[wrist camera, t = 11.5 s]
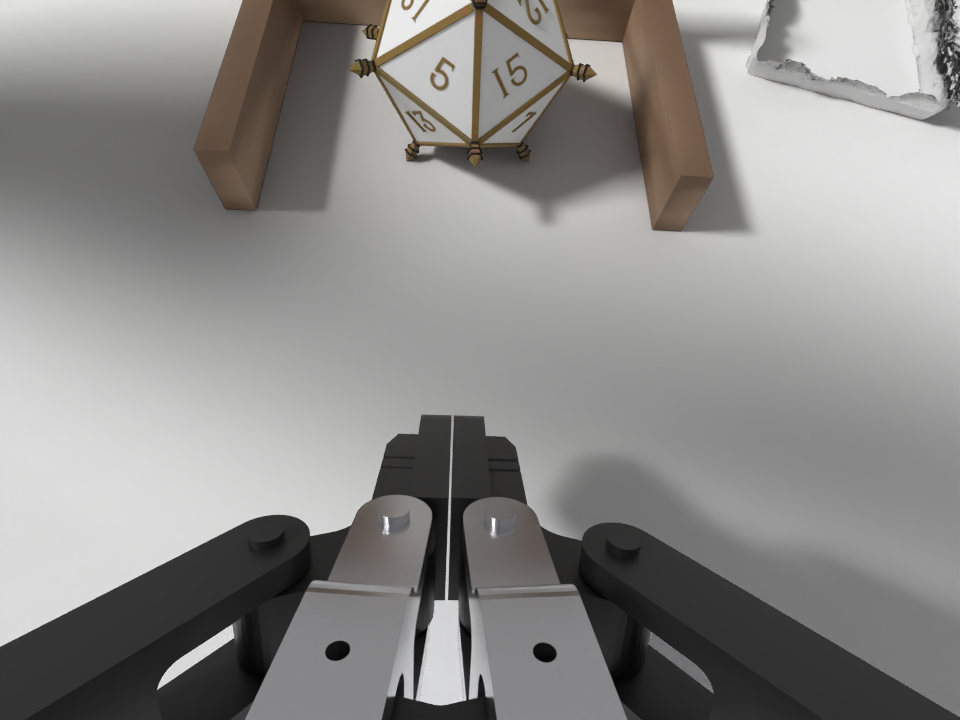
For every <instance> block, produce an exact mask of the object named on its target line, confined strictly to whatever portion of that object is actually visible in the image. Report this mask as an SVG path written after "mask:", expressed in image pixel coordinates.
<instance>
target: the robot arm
mask: <svg viewBox="0 0 960 720" xmlns="http://www.w3.org/2000/svg"><path fill="white" fill-rule="evenodd" d="M450 442H451V415H421V421H420V428H419V434H398V435H397V436H396V437H395V438H393V439H392V440H391V441H390V442H389V443H388V444H387V446H386V449H385V453H384V459H383V460H382V464H381V469H380V471H379V475H378V479H377V483H376V486H375V490H374V494H373V497H372V500H371V501H369V502H367V503H366V504H364V505H363V506H362V507H361V508H360V509H359V510H358V512H357V514H356V516H355V518H354V520H353V523H352V525H351V526H349V527H347V528H345V529H342V530H339V531H335V532H331V533H326V534H320V535H315V536H310V531H309V528H308V526H307V525H306V524H305V523H304V522H303V521H302V520H300V519H298V518H295V517H292V516H287V515H269V516H263V517H259V518H255V519H252V520H250V521H247V522H245V523H243V524H241V525H239V526H237V527H235V528H233V529H231V530H229V531H227V532H225V533H223V534H221V535H219V536H217V537H215V538H213V539H211V540H210V541H208V542H206V543H204V544H202V545H200V546H198V547H196V548H194V549H192V550H190V551H188V552H186V553H184V554H182V555H180V556H178V557H176V558H174V559H172V560H170V561H168V562H166V563H164V564H162V565H160V566H158V567H156V568H154V569H153V570H151V571H149V572H147V573H145V574H143V575H141V576H139V577H137V578H135V579H133V580H131V581H129V582H127V583H125V584H123V585H121V586H119V587H117V588H115V589H113V590H111V591H109V592H107V593H105V594H103V595H101V596H99V597H97V598H96V599H94V600H92V601H90V602H88V603H86V604H84V605H82V606H80V607H78V608H76V609H74V610H72V611H70V612H68V613H66V614H64V615H62V616H60V617H58V618H56V619H54V620H52V621H50V622H48V623H46V624H44V625H42V626H40V627H39V628H37V629H35V630H33V631H31V632H29V633H27V634H25V635H23V636H21V637H19V638H17V639H15V640H13V641H11V642H9V643H7V644H5V645H3V646H1V647H0V720H960V717H958V716H956V715H955V714H953V713H951V712H950V711H948V710H946V709H944V708H943V707H941V706H939V705H938V704H936V703H934V702H933V701H931V700H929V699H927V698H926V697H924V696H922V695H921V694H919V693H917V692H916V691H914V690H912V689H911V688H909V687H907V686H905V685H904V684H902V683H900V682H899V681H897V680H895V679H894V678H892V677H890V676H889V675H887V674H885V673H883V672H882V671H880V670H878V669H877V668H875V667H873V666H872V665H870V664H868V663H866V662H865V661H863V660H861V659H860V658H858V657H856V656H855V655H853V654H851V653H850V652H848V651H846V650H844V649H843V648H841V647H839V646H838V645H836V644H834V643H833V642H831V641H829V640H828V639H826V638H824V637H822V636H821V635H819V634H817V633H816V632H814V631H812V630H811V629H809V628H807V627H805V626H804V625H802V624H800V623H799V622H797V621H795V620H794V619H792V618H790V617H789V616H787V615H785V614H783V613H782V612H780V611H778V610H777V609H775V608H773V607H772V606H770V605H768V604H767V603H765V602H763V601H761V600H760V599H758V598H756V597H755V596H753V595H751V594H750V593H748V592H746V591H744V590H743V589H741V588H739V587H738V586H736V585H734V584H733V583H731V582H729V581H728V580H726V579H724V578H722V577H721V576H719V575H717V574H716V573H714V572H712V571H711V570H709V569H707V568H706V567H704V566H702V565H700V564H699V563H697V562H695V561H694V560H692V559H690V558H689V557H687V556H685V555H683V554H682V553H680V552H678V551H677V550H675V549H673V548H672V547H670V546H668V545H667V544H665V543H663V542H661V541H660V540H658V539H656V538H655V537H653V536H651V535H650V534H648V533H646V532H644V531H642V530H641V529H638V528H636V527H633V526H630V525H626V524H621V523H601V524H598V525H595V526H592V527H591V528H589V529H588V530H587V531H586V532H585V533H584V535H583V539H582V541H580V540H576V539H572V538H568V537H564V536H560V535H557V534H554V533H552V532H550V531H548V530H546V529H544V528H543V527H541V526H540V524H539V521H538V518H537V516H536V514H535V512H534V511H533V510H532V509H531V508H530V507H529V506H527V501H526V496H525V491H524V486H523V481H522V476H521V472H520V466H519V462H518V456H517V451H516V447H515V446H514V445H513V444H512V443H511V442H510V441H509V440H508V439H507V438H506V437H496V436H486V435H485V425H484V416H454V431H453V459H452V488H451V521H450V555H449V590H448V600H459V615H458V647H459V659H460V671H461V682H462V694H463V701H461V702H457V703H453V704H449V705H443V706H438V705H432V704H428V703H424V702H420V701H419V698H420V692H421V686H422V680H423V673H424V667H425V661H426V655H427V648H428V642H429V634H430V622H431V620H432V618H433V613H434V600H445V580H446V553H447V527H448V500H449V471H450ZM231 624H233V631H234V639H232V640H231V641H229V642H228V643H226V644H225V645H223V646H222V647H220V648H219V649H217V650H216V651H214V652H213V653H211V654H210V655H208V656H207V657H205V658H204V659H203V660H201V661H200V662H198V663H197V664H195V665H194V666H192V667H191V668H189V669H188V670H186V671H185V672H183V673H182V674H180V675H179V676H177V677H176V678H174V679H173V680H171V681H170V682H169V683H167V684H166V685H164V686H163V687H161V688H160V689H158V690H157V687H158V684H159V682H160V680H161V678H162V676H163V675H164V673H165V672H166V671H167V669H168V668H169V667H170V666H171V665H172V664H173V663H174V662H176V661H177V660H178V659H180V658H181V657H182V656H184V655H185V654H187V653H189V652H190V651H192V650H193V649H195V648H196V647H198V646H199V645H201V644H202V643H204V642H205V641H207V640H208V639H210V638H212V637H213V636H215V635H216V634H218V633H219V632H221V631H222V630H224V629H225V628H227V627H228V626H230V625H231ZM650 631H651V632H653V633H654V634H655V635H657V636H658V637H660V638H661V639H662V640H664V641H665V642H666V643H668V644H669V645H670V646H672V647H673V648H674V649H676V650H677V651H679V652H680V653H681V654H683V655H684V656H685V657H687V658H688V659H689V660H691V661H692V662H693V663H695V664H696V665H697V666H698V667H699V668H700V669H701V670H702V671H703V672H704V673H705V674H706V676H707V677H708V679H709V680H710V682H711V684H712V687H713V690H714V694H713V693H711V692H710V691H709V690H708V689H706V688H705V687H704V686H702V685H701V684H700V683H698V682H697V681H696V680H694V679H693V678H692V677H690V676H689V675H688V674H686V673H685V672H684V671H683V670H681V669H680V668H679V667H677V666H676V665H675V664H673V663H672V662H671V661H669V660H668V659H667V658H665V657H664V656H663V655H661V654H660V653H659V652H657V651H656V650H655V649H654V648H652V647H651V646H650V645H648V641H649V636H650Z"/></svg>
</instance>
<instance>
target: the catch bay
mask: <svg viewBox="0 0 960 720" xmlns="http://www.w3.org/2000/svg"><path fill="white" fill-rule="evenodd" d="M386 2H387V0H243V1H242V4H241V7H240V10H239V13H238V16H237V19H236V22H235V25H234V28H233V31H232V34H231V37H230V40H229V43H228V46H227V49H226V52H225V55H224V58H223V61H222V64H221V67H220V70H219V73H218V76H217V79H216V83H215V86H214V89H213V92H212V95H211V98H210V101H209V104H208V107H207V110H206V113H205V116H204V119H203V122H202V125H201V128H200V131H199V134H198V137H197V140H196V143H195V146H194V149H193V150H194V151H195V153H196V155H197V157H198V159H199V161H200V163H201V165H202V166H203V168H204V170H205V172H206V174H207V176H208V178H209V180H210V181H211V183H212V185H213V187H214V189H215V191H216V193H217V195H218V196H219V198H220V200H221V202H222V204H223V206H224V208H225V209H241V210H256V208H257V204H258V200H259V196H260V192H261V188H262V184H263V180H264V176H265V172H266V168H267V163H268V159H269V155H270V151H271V147H272V143H273V139H274V135H275V131H276V127H277V123H278V119H279V115H280V111H281V107H282V103H283V99H284V95H285V90H286V86H287V82H288V78H289V74H290V70H291V66H292V62H293V58H294V54H295V50H296V46H297V42H298V38H299V34H300V30H301V26H302V21H317V22H332V23H348V24H363V25H370V24H372V25H378V26H380V25H381V21H382V17H383V13H384V10H385V6H386ZM557 2H558V6H559V10H560V14H561V17H562V21H563V25H564V29H565V32H566V33H567V35H568V38H577V39H592V40H607V41H622V43H623V49H624V55H625V61H626V68H627V74H628V80H629V86H630V93H631V99H632V105H633V111H634V118H635V124H636V130H637V136H638V143H639V149H640V155H641V161H642V168H643V174H644V180H645V187H646V193H647V199H648V205H649V212H650V218H651V224H652V230H672V231H681V230H682V228H683V227H684V225H685V224H686V222H687V220H688V219H689V217H690V215H691V214H692V212H693V210H694V209H695V207H696V205H697V204H698V202H699V200H700V199H701V197H702V196H703V194H704V192H705V191H706V189H707V187H708V186H709V184H710V182H711V181H712V179H713V172H712V168H711V164H710V159H709V155H708V151H707V147H706V142H705V138H704V134H703V130H702V125H701V121H700V117H699V113H698V108H697V104H696V100H695V95H694V91H693V87H692V83H691V78H690V74H689V70H688V66H687V61H686V57H685V53H684V48H683V44H682V40H681V36H680V31H679V27H678V23H677V19H676V14H675V10H674V6H673V2H672V0H557Z"/></svg>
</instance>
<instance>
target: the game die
mask: <svg viewBox="0 0 960 720" xmlns="http://www.w3.org/2000/svg"><path fill="white" fill-rule="evenodd" d="M362 31H363V32H364V34H365V35H366V36H367V39H371V40H373V39H374V40H376V44H375V48H374V52H373V56H372V59H371V61H368V60H367V59H363V60H361V59H358V60H355V63H354V64H353V65H352V66H351V67H350V68H349V70H350V71H352V72H354V73H356V74H358V75H359V76H360V77H361V78H362V77H363V76H364V75H366V76H369V74H370V73H371V72H374V73H375V75H376V76H377V78H378V80H379V82H380V83H381V85H382V87H383V88H384V90H385V92H386V94H387V95H388V97H389V99H390V100H391V102H392V104H393V106H394V107H395V109H396V111H397V112H398V114H399V116H400V118H401V119H402V121H403V123H404V125H405V126H406V128H407V130H408V131H409V133H410V135H411V137H412V138H413V142H412V143H411V144H408V148H407V149H405V151H406V159H407V161H408V160H410V159H413V158H416V157H417V153H419V147H420V146H443V147H466V148H470V149H469V150H468V152H467V154H469V156H468V158H467V160H469V161H470V162H471V163H472V164H473V165H474V166H475V167H476V166H477V165H478V164H479V162H480V161H481V160H483V157H482V155H481V154H482V151H481V148H486V147H513V146H516V147H517V153H518V154H519V157H520V159H524V160H526V161H528V162H529V155H530V152H531V150H529V149H528V145H525V144H524V143H523V141H524V139H525V138H526V136H527V135H528V134H529V132H530V131H531V130H532V128H533V127H534V126H535V124H536V123H537V121H538V120H539V119H540V117H541V116H542V115H543V113H544V112H545V110H546V109H547V108H548V106H549V105H550V104H551V102H552V101H553V100H554V98H555V97H556V95H557V94H558V93H559V91H560V90H561V89H562V87H563V86H564V85H565V83H566V82H567V80H568V79H569V78H570V76H574V77H576V78H577V80H579V79H581V80H583V82H585V81H586V80H587V79H589V78H591V77H593V76H595V75H597V74H596V73H595V72H594V71H593V70H592V69H591V68H590V65H588V64H586V65H583V64H581V63H580V64H579V65H574V63H573V59H572V55H571V51H570V48H569V44H568V40H567V38H568V35H567V33H566V32H565V29H564V25H563V21H562V17H561V14H560V10H559V6H558V2H557V0H387V2H386V6H385V10H384V13H383V17H382V21H381V25H380V29H379V28H378V27H377V25H375V26H373V25H372V24H370V25H369V26H368V27H367V28H365V29H364V30H362Z"/></svg>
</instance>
